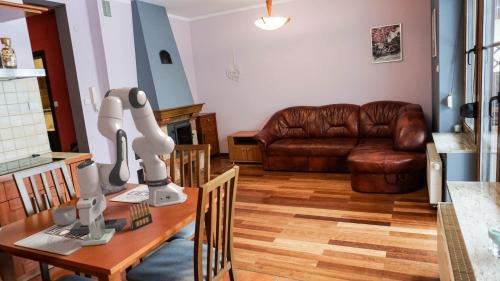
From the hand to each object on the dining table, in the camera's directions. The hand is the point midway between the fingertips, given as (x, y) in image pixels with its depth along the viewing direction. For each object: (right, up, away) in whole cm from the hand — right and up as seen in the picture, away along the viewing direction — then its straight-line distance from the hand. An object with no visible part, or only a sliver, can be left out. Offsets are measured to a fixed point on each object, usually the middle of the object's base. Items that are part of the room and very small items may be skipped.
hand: (97, 225), depth 153 cm
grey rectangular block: (0, -5, +1) cm, 5 cm away
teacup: (-25, -5, +21) cm, 33 cm away
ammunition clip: (+17, -3, +12) cm, 21 cm away
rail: (-4, -5, +12) cm, 13 cm away
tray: (0, -6, +1) cm, 7 cm away
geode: (-21, +5, +68) cm, 71 cm away
